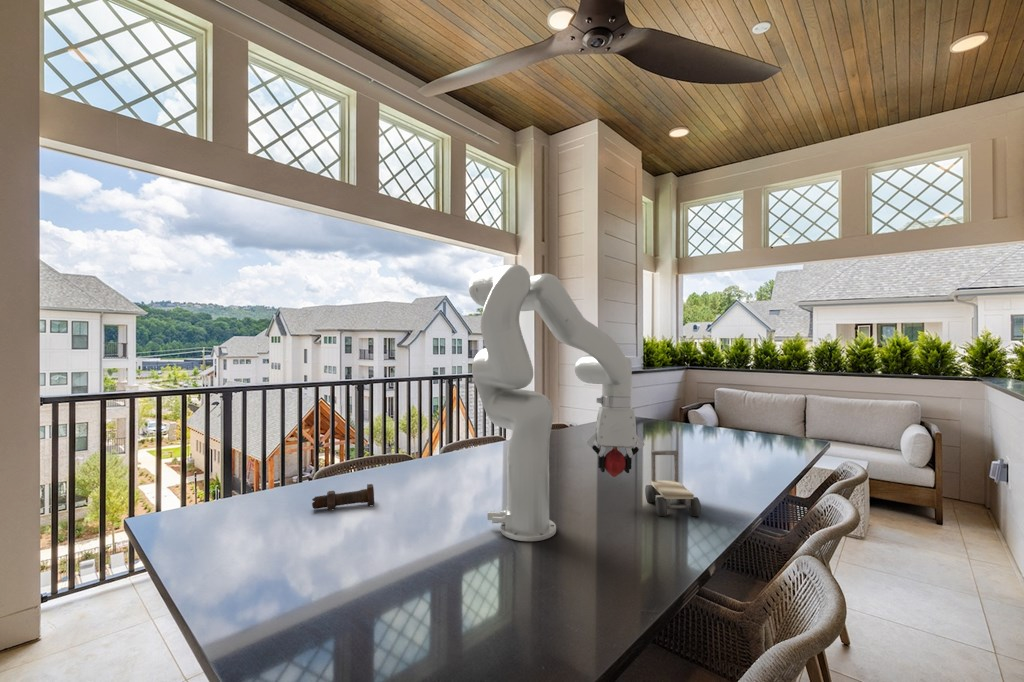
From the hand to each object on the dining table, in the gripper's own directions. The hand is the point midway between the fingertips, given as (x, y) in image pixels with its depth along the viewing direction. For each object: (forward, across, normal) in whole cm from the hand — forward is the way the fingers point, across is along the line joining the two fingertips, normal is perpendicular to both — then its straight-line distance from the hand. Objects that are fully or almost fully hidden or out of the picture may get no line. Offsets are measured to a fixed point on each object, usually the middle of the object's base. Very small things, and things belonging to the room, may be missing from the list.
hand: (614, 470), depth 125 cm
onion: (+2, 0, 0) cm, 2 cm away
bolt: (+12, -70, -3) cm, 72 cm away
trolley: (+8, +14, -3) cm, 17 cm away
